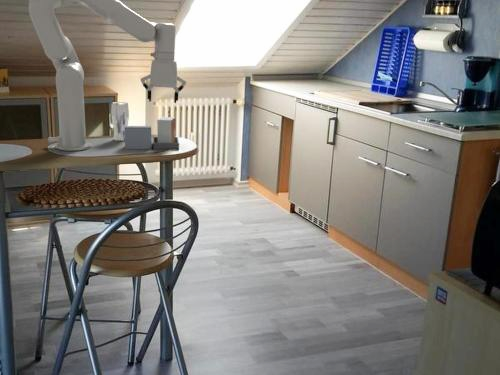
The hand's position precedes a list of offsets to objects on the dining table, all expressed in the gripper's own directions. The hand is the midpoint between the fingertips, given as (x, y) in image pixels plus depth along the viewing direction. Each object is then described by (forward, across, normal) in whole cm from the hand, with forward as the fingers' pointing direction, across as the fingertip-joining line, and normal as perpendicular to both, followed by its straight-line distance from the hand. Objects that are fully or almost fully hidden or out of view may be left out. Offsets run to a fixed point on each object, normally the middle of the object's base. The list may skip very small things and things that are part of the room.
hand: (162, 101), depth 232 cm
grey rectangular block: (+18, -9, -2) cm, 20 cm away
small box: (+17, +2, 0) cm, 17 cm away
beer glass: (+18, -16, +13) cm, 28 cm away
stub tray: (+18, +2, 0) cm, 18 cm away
